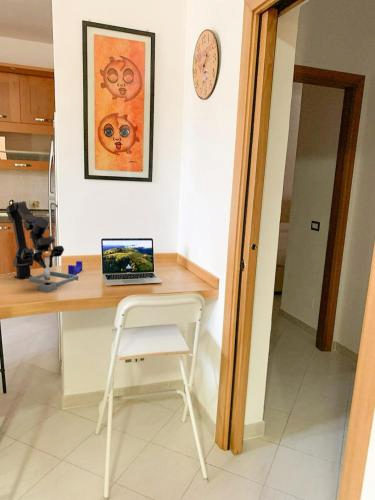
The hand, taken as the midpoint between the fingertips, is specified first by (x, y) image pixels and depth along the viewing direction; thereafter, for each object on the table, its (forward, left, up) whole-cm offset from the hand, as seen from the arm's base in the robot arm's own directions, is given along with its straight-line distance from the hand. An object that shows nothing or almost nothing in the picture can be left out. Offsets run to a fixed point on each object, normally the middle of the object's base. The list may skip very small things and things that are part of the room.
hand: (48, 267), depth 174 cm
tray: (-10, +16, -13) cm, 23 cm away
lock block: (-1, +1, -13) cm, 13 cm away
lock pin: (-1, +1, -6) cm, 6 cm away
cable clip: (-13, +35, -13) cm, 40 cm away
